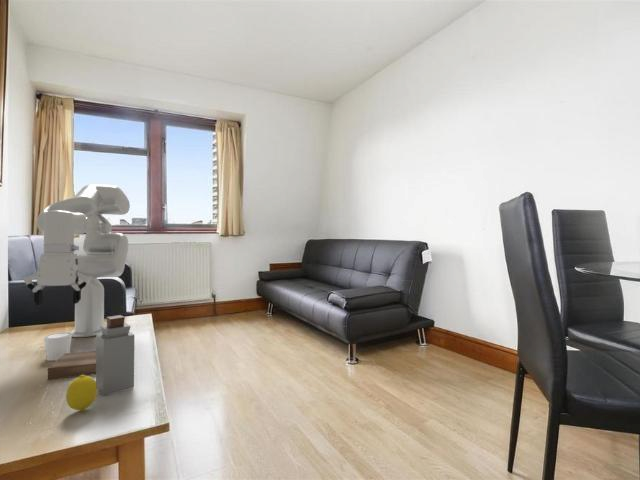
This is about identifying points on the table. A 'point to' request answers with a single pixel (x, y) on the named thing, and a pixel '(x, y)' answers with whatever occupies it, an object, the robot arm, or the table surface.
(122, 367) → the perfume bottle
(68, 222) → the robot arm
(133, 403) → the table surface
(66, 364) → the walnut plinth
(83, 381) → the lemon
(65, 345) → the white cup
